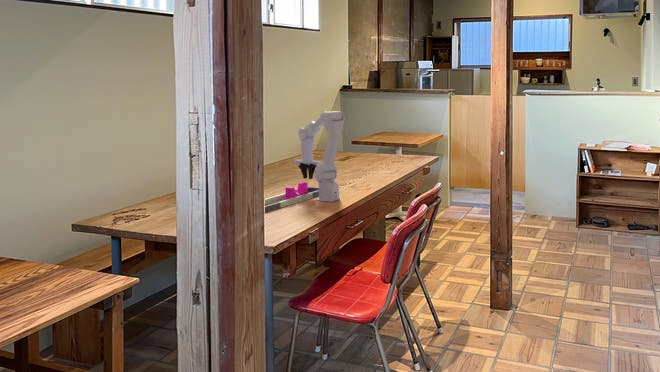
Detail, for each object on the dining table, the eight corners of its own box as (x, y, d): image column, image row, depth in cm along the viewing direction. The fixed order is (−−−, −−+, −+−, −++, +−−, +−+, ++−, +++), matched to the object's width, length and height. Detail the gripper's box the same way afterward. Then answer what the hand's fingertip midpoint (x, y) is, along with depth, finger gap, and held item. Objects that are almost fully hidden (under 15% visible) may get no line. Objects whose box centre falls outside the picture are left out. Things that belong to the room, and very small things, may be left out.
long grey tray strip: (328, 193, 355) (327, 188, 355) (264, 212, 314) (264, 207, 314) (308, 191, 362) (308, 186, 362) (244, 209, 321) (244, 204, 321)
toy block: (297, 196, 350) (296, 181, 348) (308, 197, 347) (307, 182, 346) (281, 202, 337) (280, 187, 335) (292, 203, 334) (292, 187, 333)
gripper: (323, 151, 347) (324, 178, 350) (300, 150, 355) (301, 176, 358) (315, 153, 341) (316, 180, 344) (291, 151, 349) (292, 178, 352)
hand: (308, 178), depth 350 cm, fingers open, 3 cm apart
